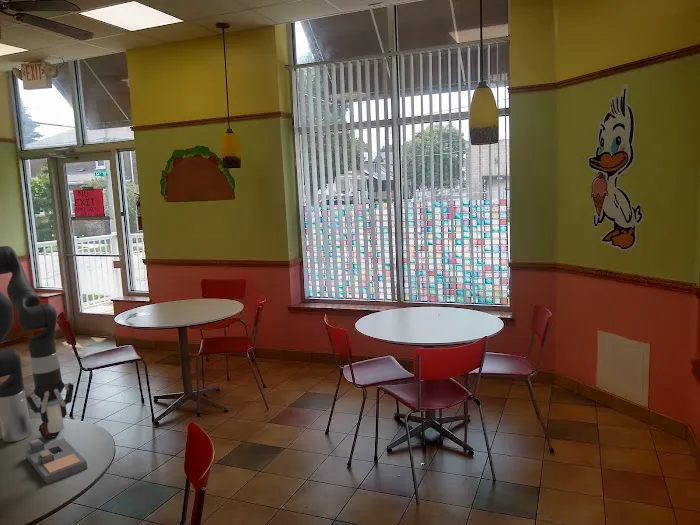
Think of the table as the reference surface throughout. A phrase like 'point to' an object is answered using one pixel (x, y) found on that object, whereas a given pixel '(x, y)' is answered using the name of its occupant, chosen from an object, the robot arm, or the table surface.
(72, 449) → the housing
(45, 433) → the icecream
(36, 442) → the button back
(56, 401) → the cartridge
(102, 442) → the table surface
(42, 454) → the button front
